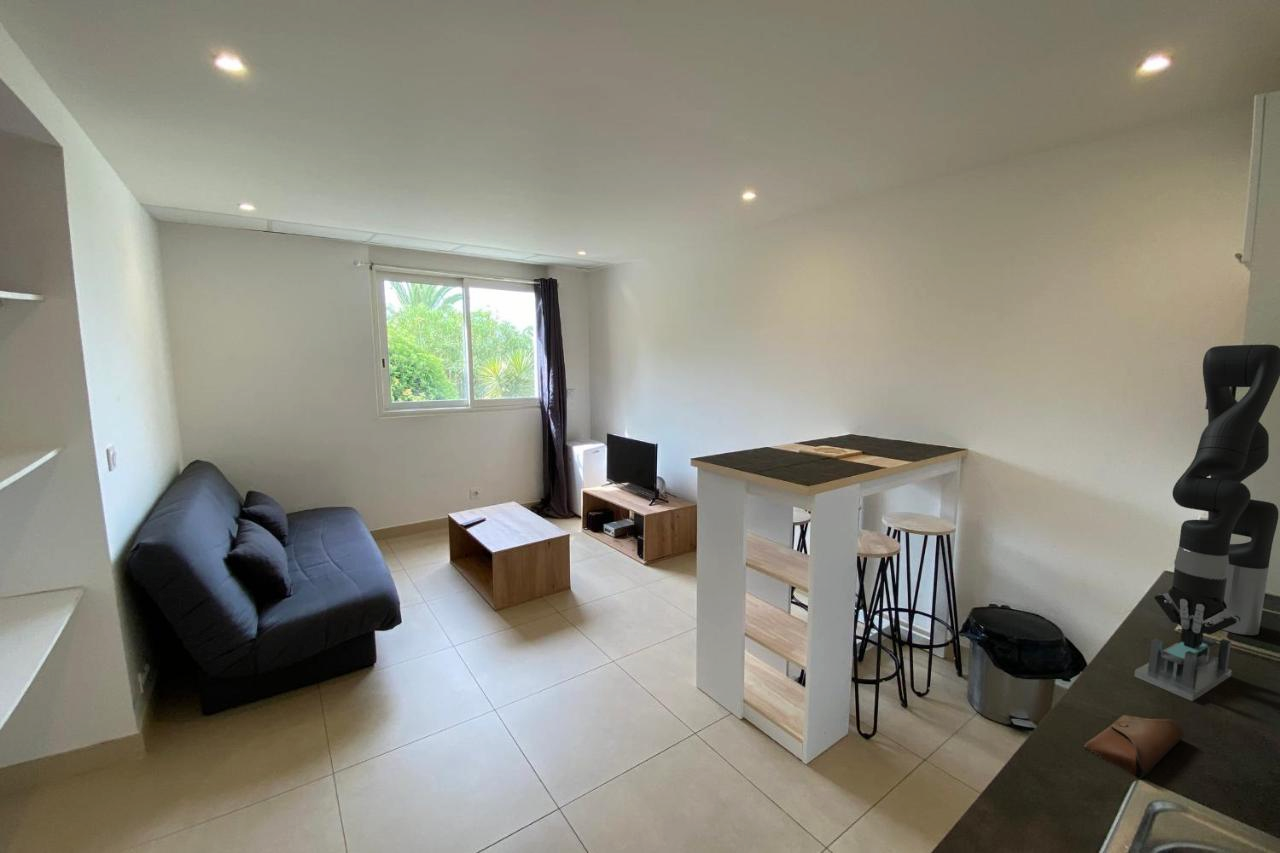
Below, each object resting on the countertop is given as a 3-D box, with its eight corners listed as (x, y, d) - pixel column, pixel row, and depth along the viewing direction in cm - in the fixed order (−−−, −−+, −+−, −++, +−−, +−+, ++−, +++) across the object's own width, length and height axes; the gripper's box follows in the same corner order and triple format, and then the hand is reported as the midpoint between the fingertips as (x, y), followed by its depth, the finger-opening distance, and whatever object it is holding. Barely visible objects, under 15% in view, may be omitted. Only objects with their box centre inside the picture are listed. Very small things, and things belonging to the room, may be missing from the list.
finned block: (1173, 654, 117) (1177, 620, 116) (1230, 676, 109) (1235, 639, 108) (1134, 676, 110) (1138, 639, 109) (1192, 701, 102) (1197, 662, 101)
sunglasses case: (1121, 711, 99) (1148, 694, 96) (1161, 748, 94) (1191, 732, 91) (1079, 747, 91) (1107, 730, 87) (1122, 790, 86) (1153, 774, 82)
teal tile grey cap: (1186, 638, 114) (1187, 631, 113) (1215, 648, 110) (1215, 640, 110) (1156, 656, 108) (1157, 648, 108) (1184, 667, 104) (1185, 659, 104)
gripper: (1254, 578, 103) (1243, 657, 105) (1166, 556, 115) (1158, 627, 117) (1239, 586, 100) (1227, 667, 102) (1150, 562, 112) (1141, 635, 114)
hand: (1190, 646), depth 110 cm, fingers closed
